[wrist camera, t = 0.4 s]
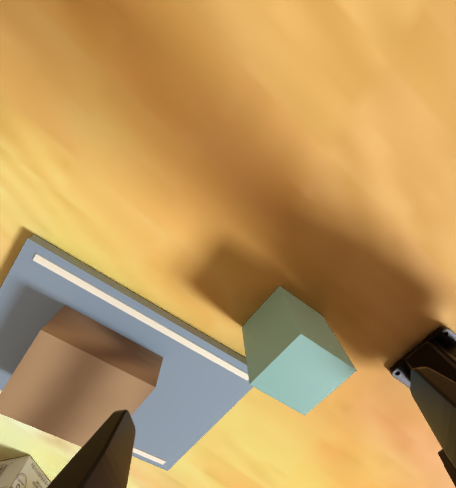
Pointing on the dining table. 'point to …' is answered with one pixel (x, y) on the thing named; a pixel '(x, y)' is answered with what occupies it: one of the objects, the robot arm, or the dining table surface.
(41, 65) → the dining table surface
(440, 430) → the robot arm
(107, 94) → the dining table surface
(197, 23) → the dining table surface
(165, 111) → the dining table surface
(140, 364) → the plinth
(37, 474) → the coffee box
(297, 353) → the teal block
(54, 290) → the board
